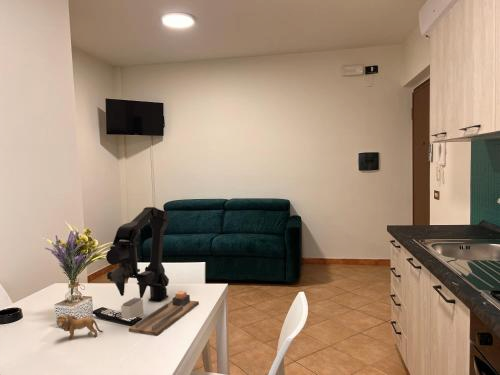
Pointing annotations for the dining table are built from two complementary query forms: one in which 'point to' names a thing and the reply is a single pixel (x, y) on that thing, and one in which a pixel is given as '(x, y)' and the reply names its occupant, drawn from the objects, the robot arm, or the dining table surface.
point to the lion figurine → (76, 324)
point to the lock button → (180, 294)
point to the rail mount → (164, 316)
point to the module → (132, 308)
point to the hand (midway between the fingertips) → (131, 296)
